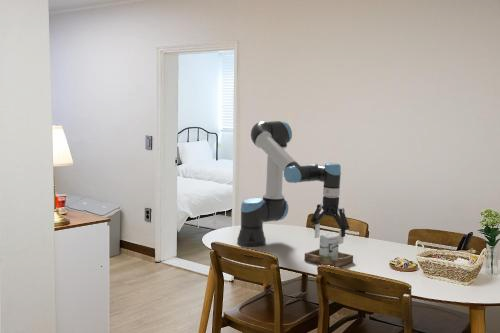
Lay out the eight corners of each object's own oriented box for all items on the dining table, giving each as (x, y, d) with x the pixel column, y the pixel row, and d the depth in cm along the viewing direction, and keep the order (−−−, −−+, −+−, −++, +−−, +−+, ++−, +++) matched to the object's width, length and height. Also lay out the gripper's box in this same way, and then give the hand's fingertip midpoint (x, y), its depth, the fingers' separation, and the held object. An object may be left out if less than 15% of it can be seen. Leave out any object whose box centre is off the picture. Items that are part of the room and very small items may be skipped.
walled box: (304, 260, 251) (304, 253, 251) (321, 254, 261) (321, 247, 261) (336, 268, 239) (336, 261, 238) (352, 262, 249) (353, 255, 249)
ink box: (326, 262, 245) (327, 237, 244) (318, 259, 249) (319, 235, 248) (338, 259, 251) (339, 235, 249) (330, 256, 255) (331, 233, 253)
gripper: (304, 193, 252) (302, 236, 255) (349, 201, 235) (346, 247, 238) (314, 191, 257) (312, 233, 260) (358, 199, 241) (355, 244, 244)
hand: (328, 240), depth 249 cm, fingers open, 13 cm apart
